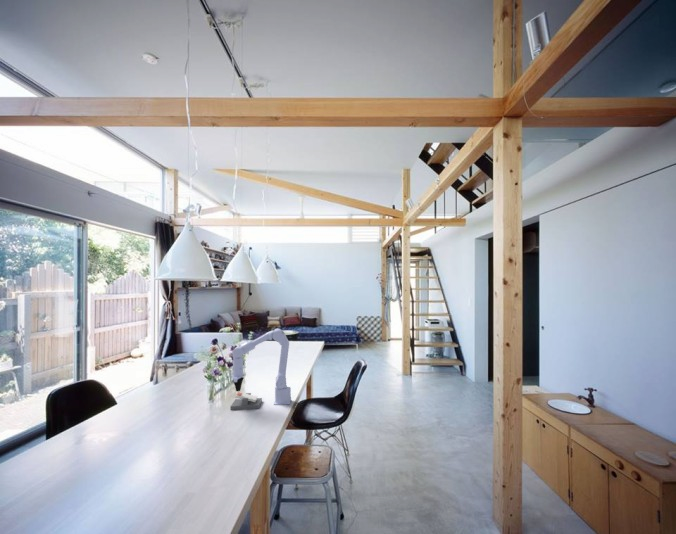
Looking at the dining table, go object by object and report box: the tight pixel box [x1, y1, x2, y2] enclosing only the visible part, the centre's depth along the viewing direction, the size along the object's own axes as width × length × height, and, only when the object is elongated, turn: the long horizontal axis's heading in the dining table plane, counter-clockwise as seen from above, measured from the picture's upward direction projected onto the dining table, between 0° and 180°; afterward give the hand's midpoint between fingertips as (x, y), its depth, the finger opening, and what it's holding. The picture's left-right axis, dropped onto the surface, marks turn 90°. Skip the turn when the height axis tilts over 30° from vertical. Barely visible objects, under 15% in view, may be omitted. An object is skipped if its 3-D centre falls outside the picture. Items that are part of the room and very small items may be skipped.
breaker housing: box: [230, 392, 263, 411], centre depth 189 cm, size 16×11×6 cm
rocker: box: [235, 391, 259, 402], centre depth 189 cm, size 12×6×1 cm, turn 93°
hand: (238, 390), depth 189 cm, fingers closed
